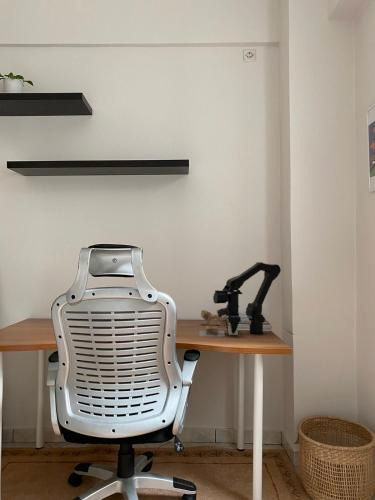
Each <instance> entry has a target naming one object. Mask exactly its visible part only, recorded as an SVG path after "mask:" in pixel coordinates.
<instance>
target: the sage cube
mask: <svg viewBox="0 0 375 500" xmlns="http://www.w3.org/2000/svg"><path fill="white" fill-rule="evenodd" d="M227 329H228V335H230V336H232V335H236V336H238V334H239V332H238V330H239V327H238V326H237V329H236V331H235V333H234V334H232V329H231V325H230V324H229V325H228V328H227Z"/></svg>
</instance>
